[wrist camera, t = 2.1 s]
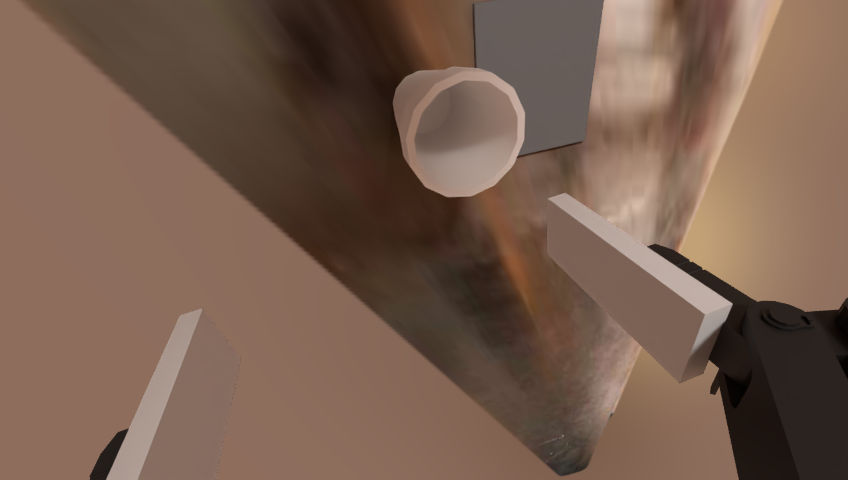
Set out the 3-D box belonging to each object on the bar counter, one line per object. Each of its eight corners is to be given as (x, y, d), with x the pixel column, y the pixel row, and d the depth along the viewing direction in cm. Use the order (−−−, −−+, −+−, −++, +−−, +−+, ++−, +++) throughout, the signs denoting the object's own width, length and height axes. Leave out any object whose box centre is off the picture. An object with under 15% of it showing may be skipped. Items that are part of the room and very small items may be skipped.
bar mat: (472, 4, 33) (474, 3, 33) (603, -17, 35) (606, -17, 35) (478, 163, 42) (479, 164, 42) (582, 139, 44) (584, 140, 44)
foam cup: (480, 84, 37) (548, 112, 27) (436, 161, 41) (481, 212, 30) (404, 33, 33) (449, 42, 22) (361, 123, 36) (383, 168, 26)
